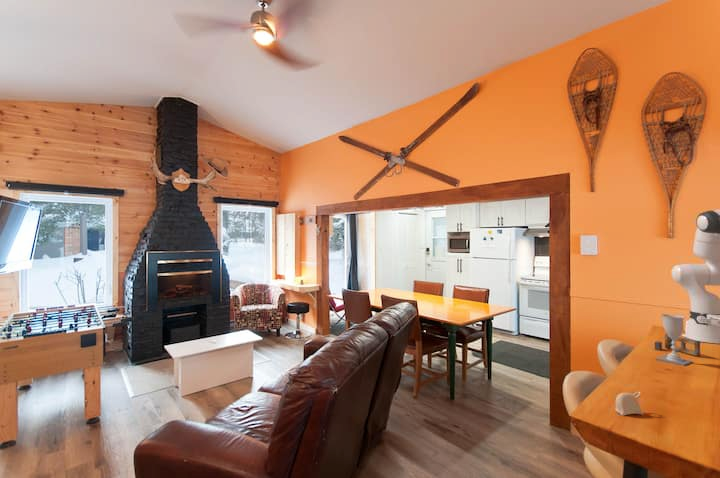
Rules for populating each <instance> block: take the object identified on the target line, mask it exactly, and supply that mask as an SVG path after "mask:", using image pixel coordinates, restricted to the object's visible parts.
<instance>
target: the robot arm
mask: <svg viewBox="0 0 720 478" xmlns="http://www.w3.org/2000/svg"><path fill="white" fill-rule="evenodd" d="M695 223H696V224H695V225H696V229H695V230H696V231H695V234H694V241H693V246H692V247H693V248H692V253H693V254H694V255H695V256H696V257H697V258H700V259H702V260H704V261H706V262H705V263H684V264H683V263H681V264H676V265H675V266H674V267H673V268H672V269H671V271H670V275H671V278H672V280H673V281H674V282H675V283H677V284H679V285H680V286H681V287H683V289H684V290H685V291H686V292H687V294H688V296H689V302H690V303H689V304H690V310H689V319H688V320H686V322H685V333H681V336H682V338H686V339H689V340H694V341H698V342H702V343H711V344H717V345H718V344H720V297H719V296H718V295H717V294H715V293H713V292H710V291H708V290H707V288H706V286H713V287H715V286H719V287H720V209H719V208H718V209H714V210H706V211H703V212H701V213H699V214H698V216H697V217H696V220H695Z"/></svg>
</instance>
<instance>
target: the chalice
mask: <svg viewBox="0 0 720 478" xmlns="http://www.w3.org/2000/svg"><path fill="white" fill-rule="evenodd" d="M661 317H662V319H663V320H662V323H663V324H662V326H663V328H664V331H665V332H666V333H665V334H668V336H669V337H670V338H672V342H671V343H672V347H671V348H672V349H671V348H670V349H671V350H672V351H671V352H669V353H667V355H668V356H667V358H666V359H668V360H672V361H682V359H683V358H682V357H681V355H680V354H679V353H677V352H676V351H677V350H676V346H677V345H676V344H677V342H676V340H675V339H677V338H679V337H680V336H682V334H683V331H684V320H685V316H682V315H677V314H661ZM681 358H682V359H681Z"/></svg>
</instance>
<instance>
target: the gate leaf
mask: <svg viewBox="0 0 720 478" xmlns="http://www.w3.org/2000/svg"><path fill="white" fill-rule="evenodd" d="M671 339H672V338H670V337H669V336H668V334H667V333H665V334H664V348H666V349H670V350H672V348H671V347H672V345H671ZM676 341H677V342H680V346H677V345H675V346H676V350H675V351H677V352H682V353H686V354H689V355H692V356H696V357H700V356H701V343H700V342H701V341H696V340H692V339H689V338H686V337H680V336H679V338H677V339H675V342H676ZM686 344H689V345H692V346H693V347H694V350H692V349H688V348H687V347H686V346H687V345H686Z"/></svg>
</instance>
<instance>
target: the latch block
mask: <svg viewBox="0 0 720 478" xmlns="http://www.w3.org/2000/svg"><path fill="white" fill-rule="evenodd" d="M654 350H655V351H662V350H663V342H662V341H658V340H656V341H654Z"/></svg>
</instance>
